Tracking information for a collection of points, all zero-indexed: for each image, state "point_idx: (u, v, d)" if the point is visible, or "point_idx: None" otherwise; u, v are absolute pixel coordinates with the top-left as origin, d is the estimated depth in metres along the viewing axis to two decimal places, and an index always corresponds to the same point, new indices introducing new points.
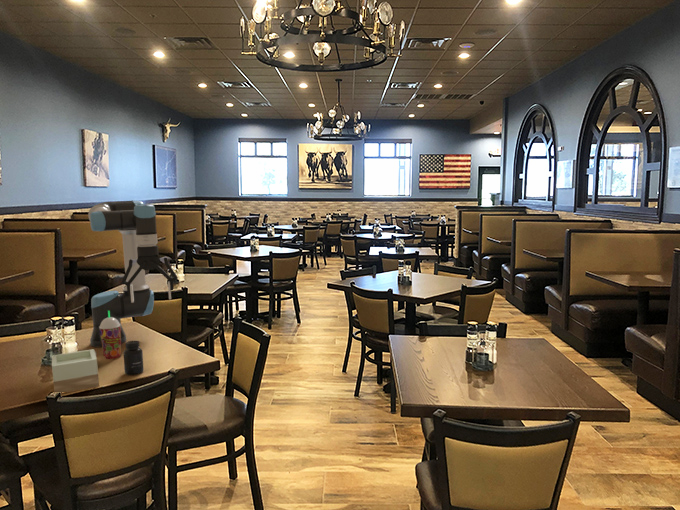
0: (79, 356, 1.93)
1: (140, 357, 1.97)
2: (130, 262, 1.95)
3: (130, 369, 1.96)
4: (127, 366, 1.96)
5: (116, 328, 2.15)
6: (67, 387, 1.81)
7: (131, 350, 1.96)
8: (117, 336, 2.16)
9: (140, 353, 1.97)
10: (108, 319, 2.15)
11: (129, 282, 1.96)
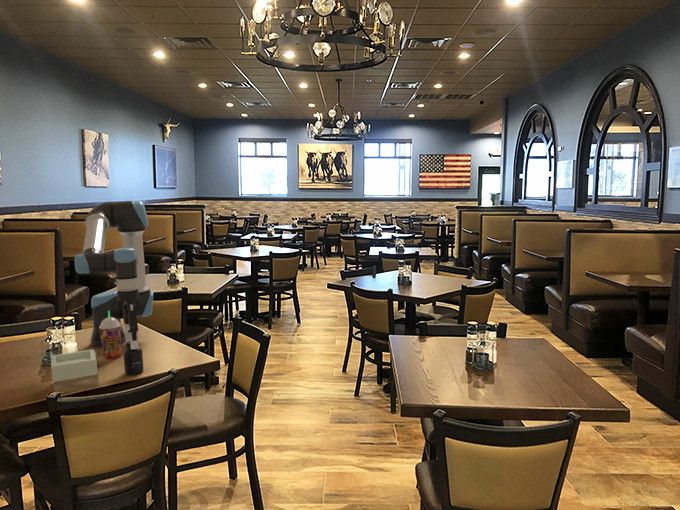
0: (79, 356, 1.93)
1: (140, 357, 1.97)
2: (123, 302, 2.01)
3: (130, 369, 1.96)
4: (127, 366, 1.96)
5: (116, 328, 2.15)
6: (67, 387, 1.81)
7: (131, 350, 1.96)
8: (117, 336, 2.16)
9: (140, 353, 1.97)
10: (108, 319, 2.15)
11: (124, 321, 2.02)
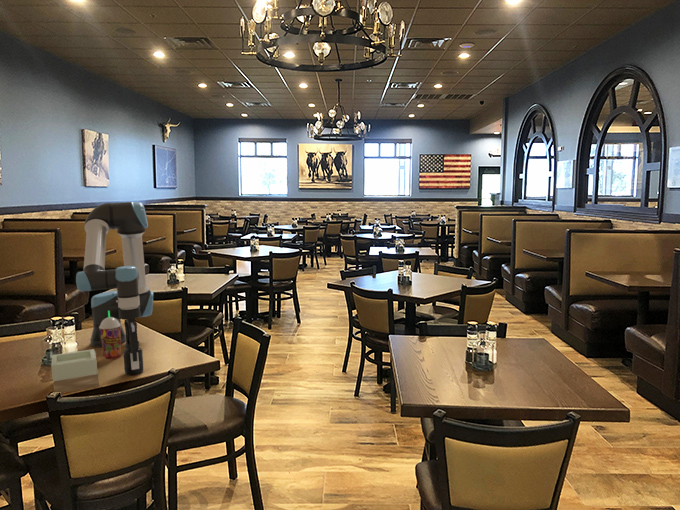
0: (79, 356, 1.93)
1: (140, 357, 1.97)
2: None
3: (130, 369, 1.96)
4: (127, 366, 1.96)
5: (116, 328, 2.15)
6: (67, 387, 1.81)
7: None
8: (117, 336, 2.16)
9: (140, 353, 1.97)
10: (108, 319, 2.15)
11: None
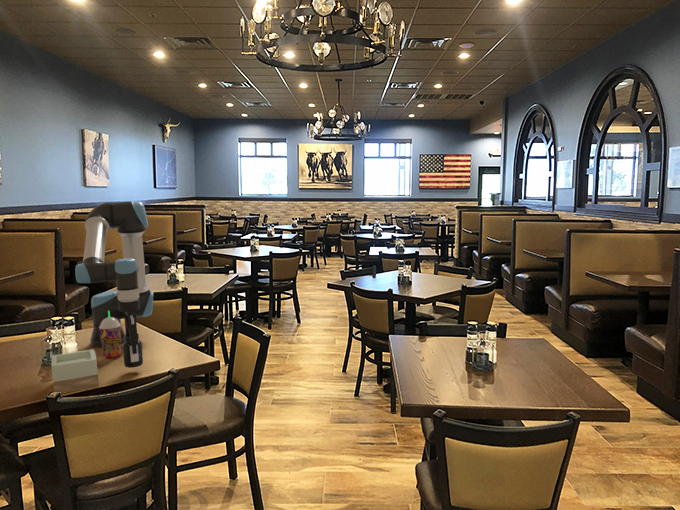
0: (79, 356, 1.93)
1: (139, 350, 1.97)
2: (124, 315, 2.01)
3: (130, 362, 1.96)
4: (126, 359, 1.96)
5: (116, 328, 2.15)
6: (66, 388, 1.81)
7: None
8: (117, 336, 2.16)
9: (139, 346, 1.97)
10: (108, 319, 2.15)
11: None
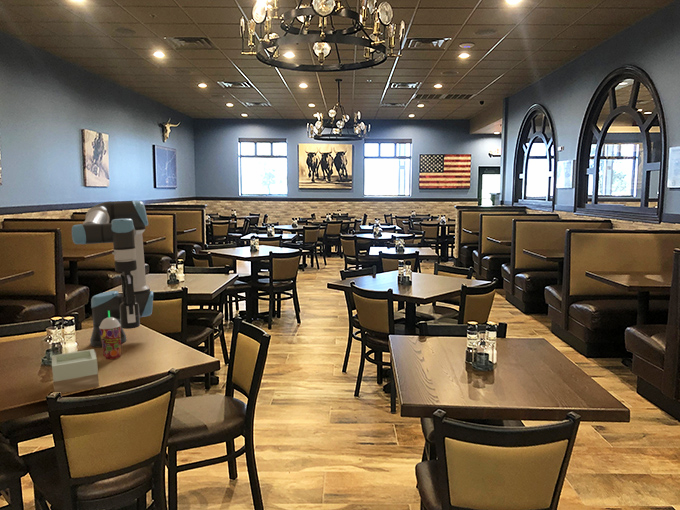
0: (79, 356, 1.93)
1: (136, 311, 1.95)
2: (121, 276, 1.99)
3: (126, 323, 1.93)
4: (123, 320, 1.93)
5: (116, 328, 2.15)
6: (66, 388, 1.81)
7: None
8: (117, 336, 2.16)
9: (136, 307, 1.95)
10: (108, 319, 2.15)
11: None
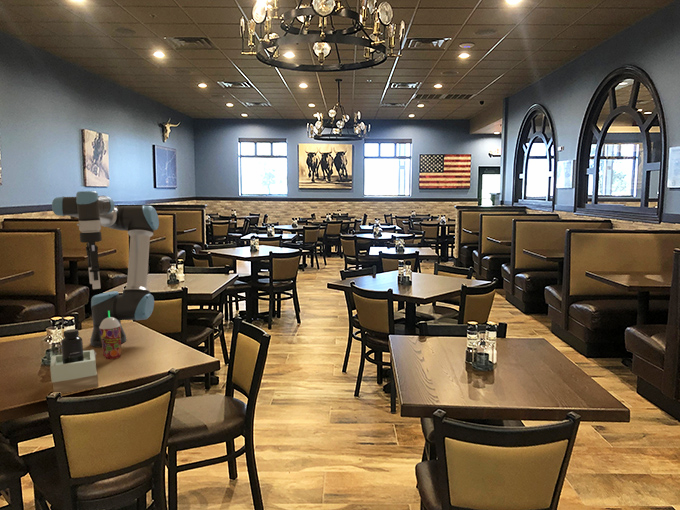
0: None
1: (79, 347, 1.85)
2: None
3: (67, 359, 1.84)
4: (64, 356, 1.84)
5: (116, 328, 2.15)
6: (66, 388, 1.80)
7: (69, 339, 1.84)
8: (117, 336, 2.16)
9: (79, 342, 1.85)
10: (108, 319, 2.15)
11: (88, 264, 2.07)
